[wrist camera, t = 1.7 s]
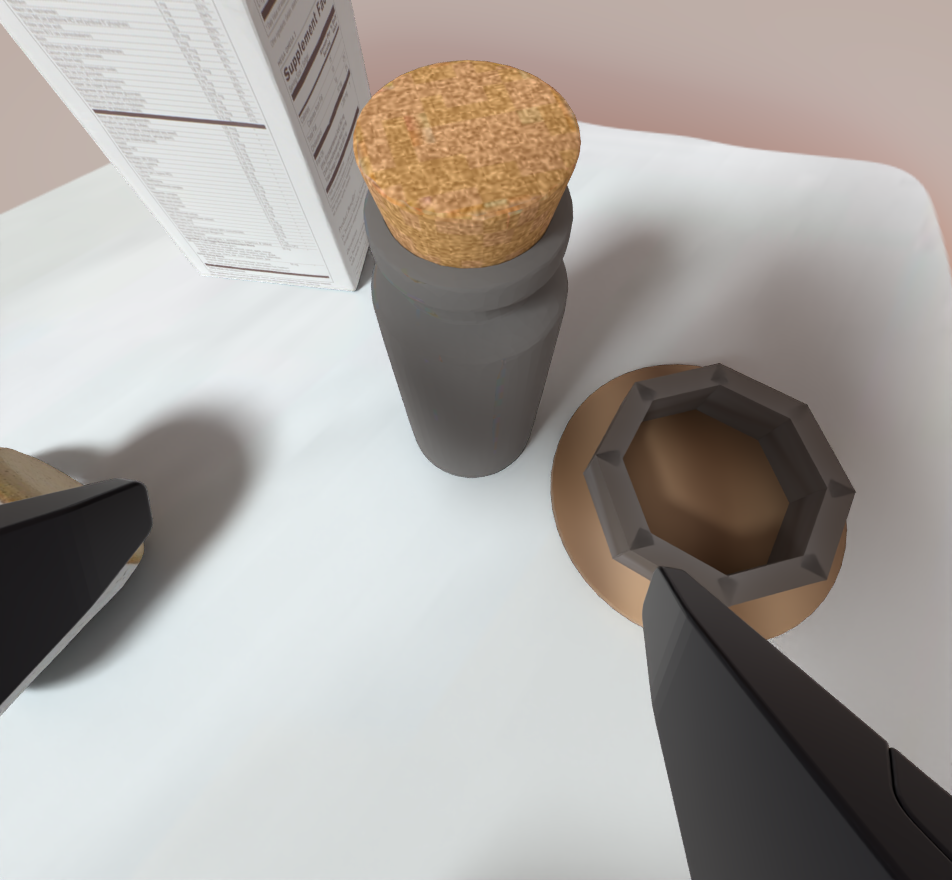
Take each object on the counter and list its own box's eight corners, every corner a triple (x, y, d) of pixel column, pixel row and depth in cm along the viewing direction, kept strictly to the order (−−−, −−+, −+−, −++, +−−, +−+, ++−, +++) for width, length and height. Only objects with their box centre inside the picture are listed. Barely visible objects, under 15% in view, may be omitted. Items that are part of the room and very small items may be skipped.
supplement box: (392, 176, 30) (300, -321, 14) (359, 296, 27) (192, -182, 11) (244, 161, 30) (-2, -335, 15) (193, 277, 27) (-195, -206, 11)
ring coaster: (604, 682, 20) (628, 692, 16) (518, 402, 24) (524, 369, 21) (890, 601, 21) (962, 597, 18) (755, 349, 25) (794, 310, 22)
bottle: (530, 482, 23) (618, 246, 9) (407, 476, 23) (298, 233, 9) (531, 373, 25) (604, 44, 11) (419, 368, 25) (346, 35, 11)
